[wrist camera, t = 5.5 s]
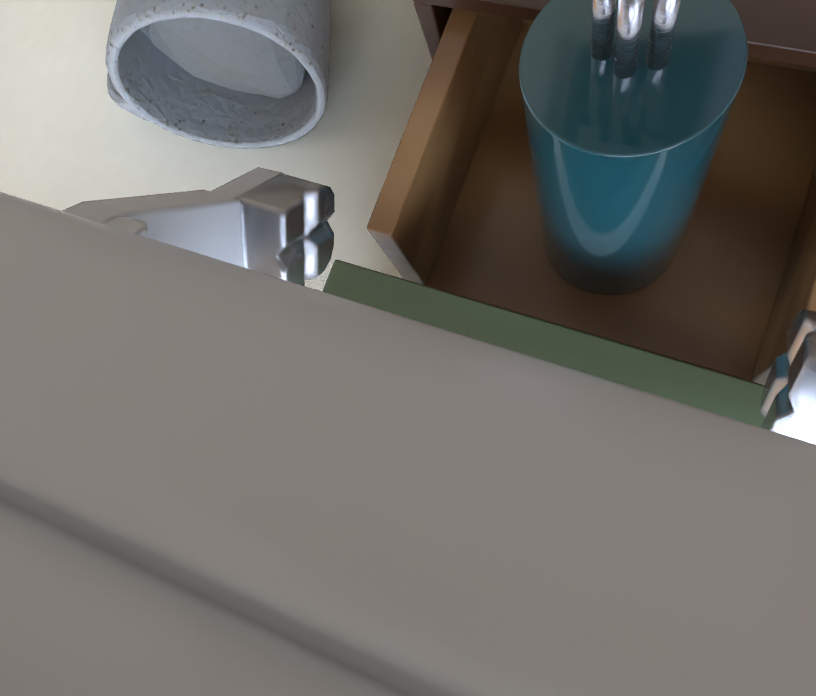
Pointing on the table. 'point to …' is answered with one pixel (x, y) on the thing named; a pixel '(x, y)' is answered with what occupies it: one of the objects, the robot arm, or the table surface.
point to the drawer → (533, 274)
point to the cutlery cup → (625, 129)
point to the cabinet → (756, 3)
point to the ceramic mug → (222, 67)
